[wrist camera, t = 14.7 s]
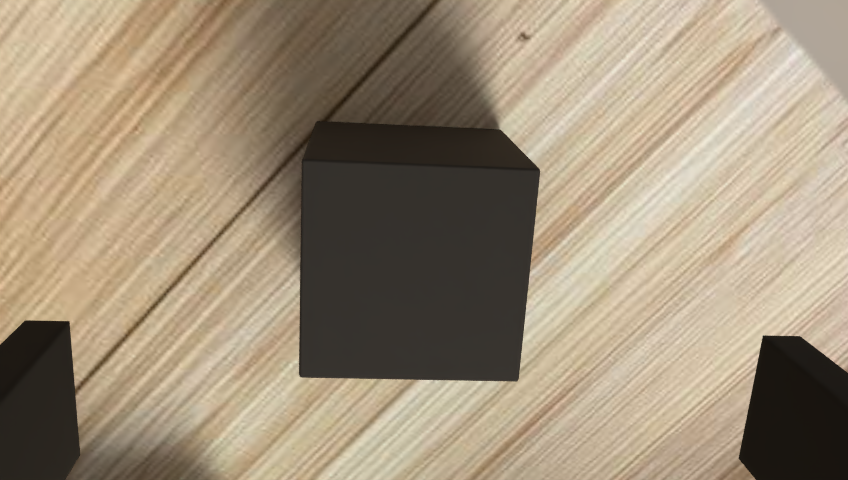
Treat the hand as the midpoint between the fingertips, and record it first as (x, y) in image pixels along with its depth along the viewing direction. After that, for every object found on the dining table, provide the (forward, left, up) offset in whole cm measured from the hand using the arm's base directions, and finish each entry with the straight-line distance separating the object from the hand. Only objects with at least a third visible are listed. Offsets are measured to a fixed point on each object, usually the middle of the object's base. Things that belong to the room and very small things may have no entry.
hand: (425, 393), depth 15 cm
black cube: (0, 0, -12) cm, 12 cm away
